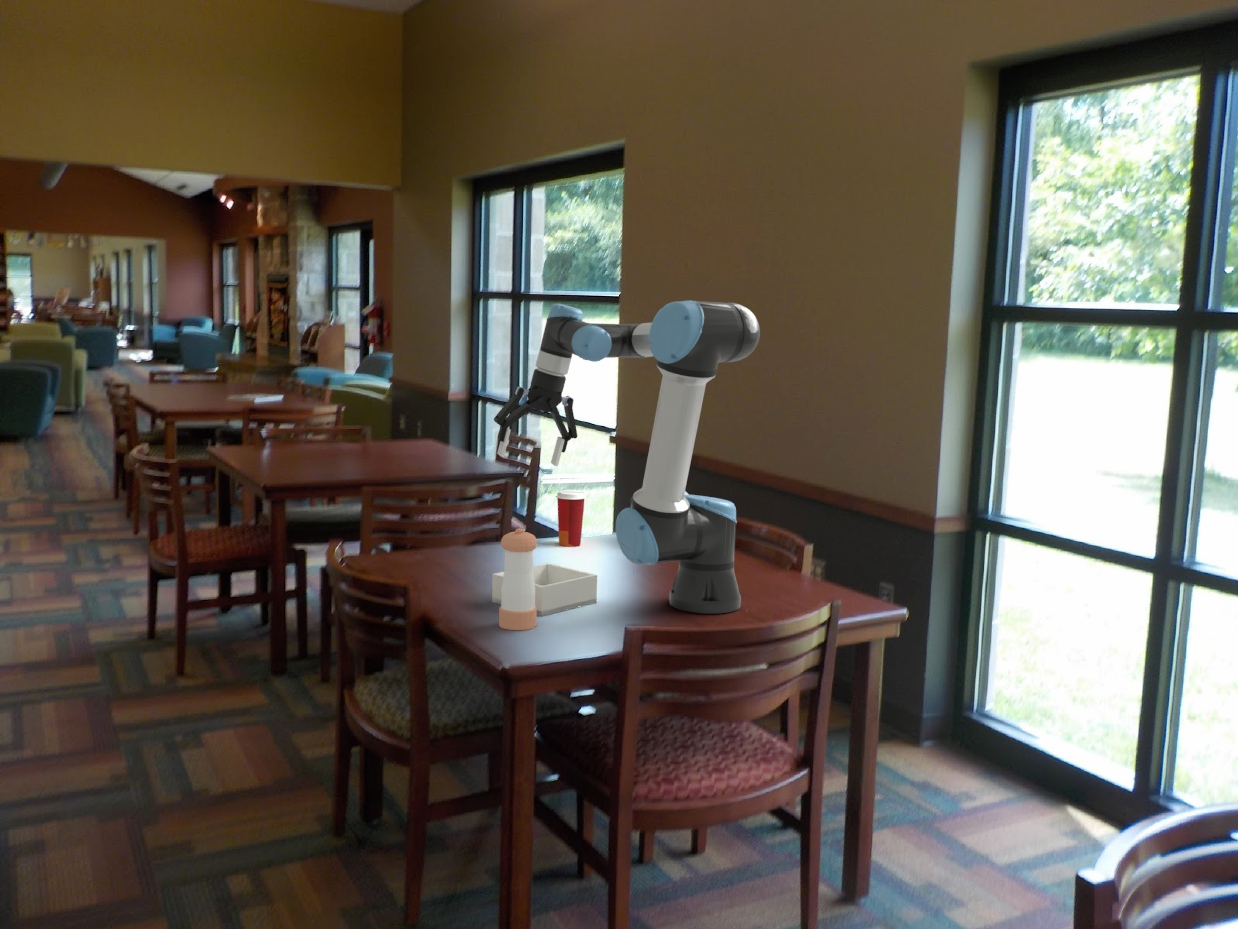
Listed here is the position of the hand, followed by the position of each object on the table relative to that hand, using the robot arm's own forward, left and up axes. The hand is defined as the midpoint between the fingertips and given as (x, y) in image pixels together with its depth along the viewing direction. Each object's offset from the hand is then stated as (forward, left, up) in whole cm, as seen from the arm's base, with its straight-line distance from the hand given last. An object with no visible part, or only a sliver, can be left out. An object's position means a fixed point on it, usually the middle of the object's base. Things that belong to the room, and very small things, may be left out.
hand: (527, 460), depth 263 cm
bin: (-23, +17, -26) cm, 39 cm away
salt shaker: (-32, +33, -26) cm, 53 cm away
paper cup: (+15, -29, -26) cm, 42 cm away
